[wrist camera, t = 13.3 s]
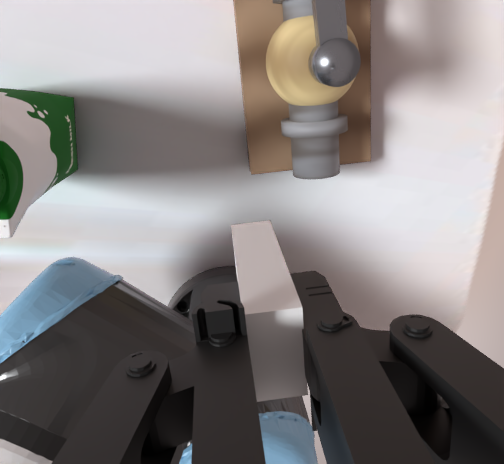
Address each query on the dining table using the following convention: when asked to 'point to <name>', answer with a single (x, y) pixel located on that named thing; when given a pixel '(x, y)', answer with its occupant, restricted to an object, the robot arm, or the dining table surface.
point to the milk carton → (33, 150)
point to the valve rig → (300, 91)
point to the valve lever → (332, 45)
